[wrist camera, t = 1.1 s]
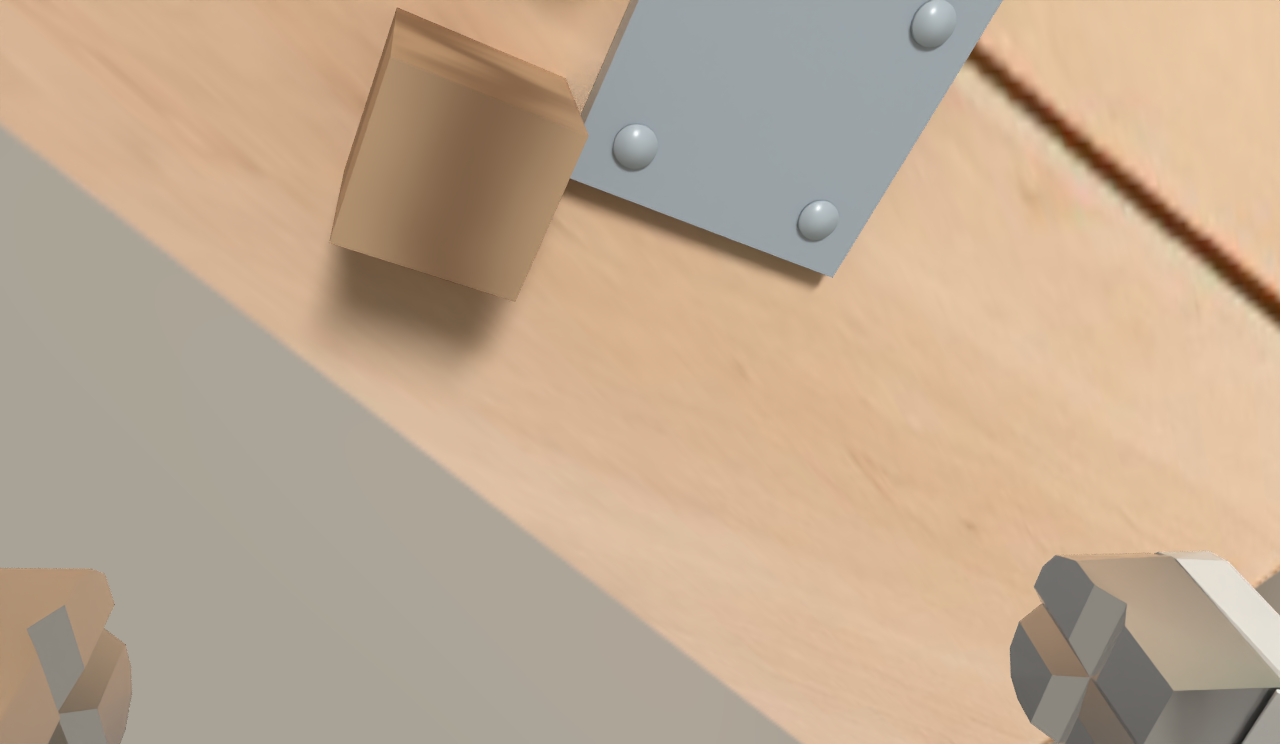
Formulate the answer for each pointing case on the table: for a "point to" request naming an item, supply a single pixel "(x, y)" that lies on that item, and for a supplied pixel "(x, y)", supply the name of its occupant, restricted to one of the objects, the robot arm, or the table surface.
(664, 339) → the table surface
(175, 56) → the table surface
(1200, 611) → the robot arm
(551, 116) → the block
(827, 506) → the table surface
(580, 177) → the plate
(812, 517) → the table surface
